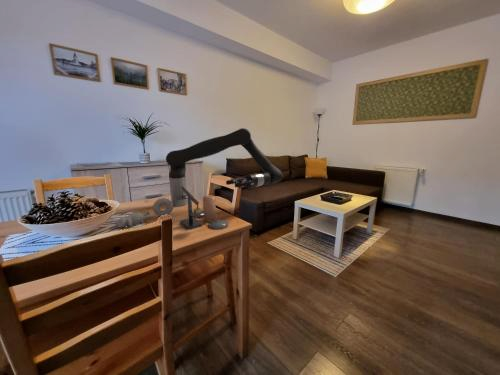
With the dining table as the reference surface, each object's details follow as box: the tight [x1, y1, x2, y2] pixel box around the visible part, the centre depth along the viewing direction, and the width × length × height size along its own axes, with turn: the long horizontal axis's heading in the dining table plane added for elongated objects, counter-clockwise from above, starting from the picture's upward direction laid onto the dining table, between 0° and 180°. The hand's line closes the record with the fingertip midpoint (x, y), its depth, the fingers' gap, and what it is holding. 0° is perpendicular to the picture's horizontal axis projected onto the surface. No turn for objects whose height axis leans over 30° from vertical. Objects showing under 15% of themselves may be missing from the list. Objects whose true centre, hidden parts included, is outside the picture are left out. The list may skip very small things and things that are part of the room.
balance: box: [176, 187, 205, 231], centre depth 97 cm, size 23×7×17 cm, turn 38°
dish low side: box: [208, 219, 229, 230], centre depth 98 cm, size 9×9×1 cm
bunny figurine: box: [115, 211, 154, 229], centre depth 99 cm, size 10×5×15 cm
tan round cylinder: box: [202, 195, 217, 223], centre depth 104 cm, size 6×6×12 cm
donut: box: [152, 197, 174, 217], centre depth 108 cm, size 10×4×10 cm, turn 120°
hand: (230, 184), depth 109 cm, fingers open, 8 cm apart
